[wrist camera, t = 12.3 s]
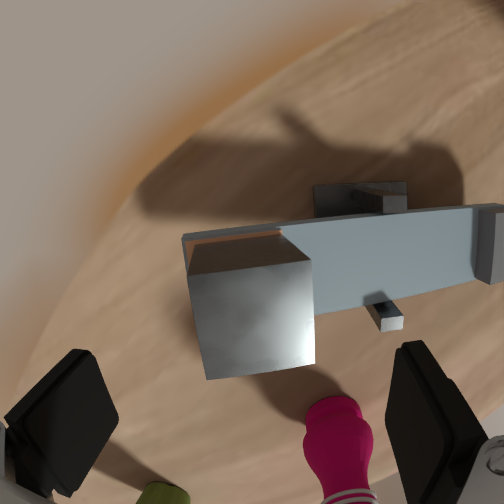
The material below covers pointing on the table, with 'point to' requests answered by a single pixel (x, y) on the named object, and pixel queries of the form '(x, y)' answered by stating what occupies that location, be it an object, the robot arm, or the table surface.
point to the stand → (360, 202)
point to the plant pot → (163, 495)
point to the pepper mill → (339, 450)
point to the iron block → (252, 305)
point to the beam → (386, 251)
